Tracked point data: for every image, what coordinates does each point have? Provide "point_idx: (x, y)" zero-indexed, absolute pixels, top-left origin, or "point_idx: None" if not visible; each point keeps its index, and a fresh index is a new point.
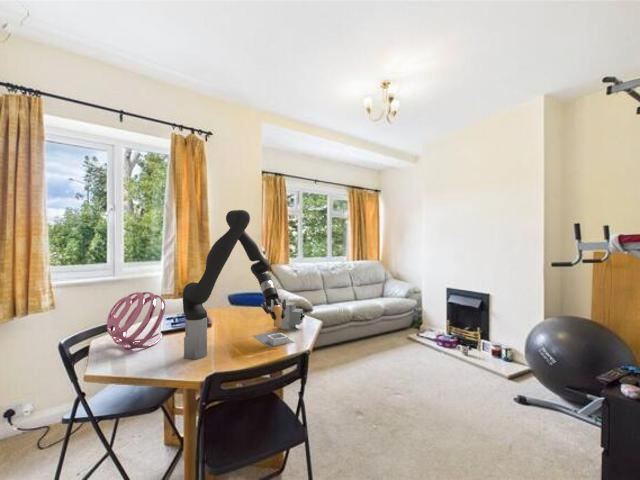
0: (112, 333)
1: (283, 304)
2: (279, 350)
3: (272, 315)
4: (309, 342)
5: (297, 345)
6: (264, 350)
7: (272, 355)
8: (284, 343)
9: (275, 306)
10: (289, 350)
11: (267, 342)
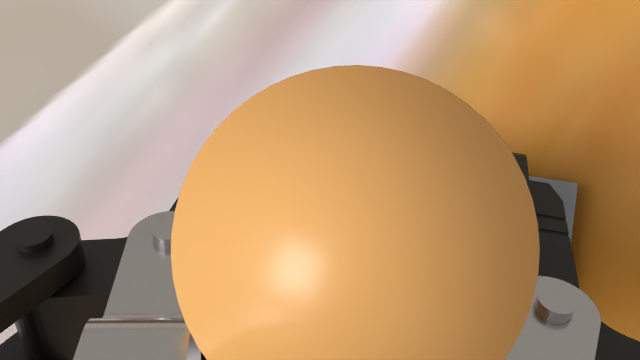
0: None
1: None
2: (489, 92)
3: (566, 233)
4: (99, 70)
5: (249, 84)
6: (623, 207)
7: (631, 23)
8: None
9: (470, 232)
10: (407, 22)
11: None
